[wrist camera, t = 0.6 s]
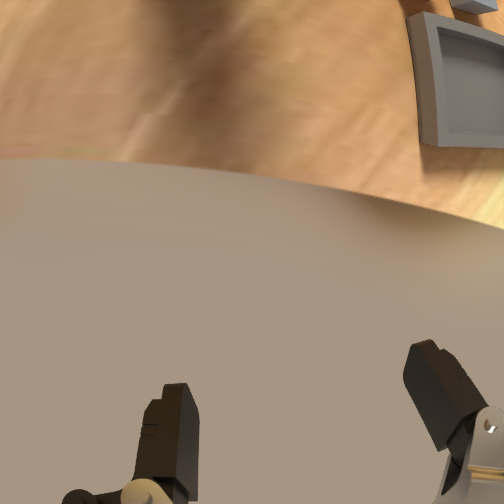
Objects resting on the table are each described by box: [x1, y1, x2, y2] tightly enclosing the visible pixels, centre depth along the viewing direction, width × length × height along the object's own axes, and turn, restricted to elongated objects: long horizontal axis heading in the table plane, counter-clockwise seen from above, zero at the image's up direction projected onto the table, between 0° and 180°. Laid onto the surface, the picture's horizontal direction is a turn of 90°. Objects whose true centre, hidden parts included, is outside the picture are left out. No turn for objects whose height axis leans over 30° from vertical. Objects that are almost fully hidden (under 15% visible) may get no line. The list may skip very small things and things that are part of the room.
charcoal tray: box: [406, 11, 504, 148], centre depth 27 cm, size 16×20×4 cm
